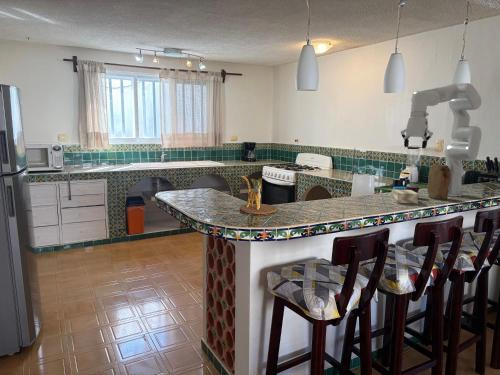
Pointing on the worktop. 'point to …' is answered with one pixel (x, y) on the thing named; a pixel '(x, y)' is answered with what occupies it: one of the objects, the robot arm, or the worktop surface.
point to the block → (439, 182)
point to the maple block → (404, 196)
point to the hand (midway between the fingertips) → (414, 147)
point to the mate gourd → (412, 186)
